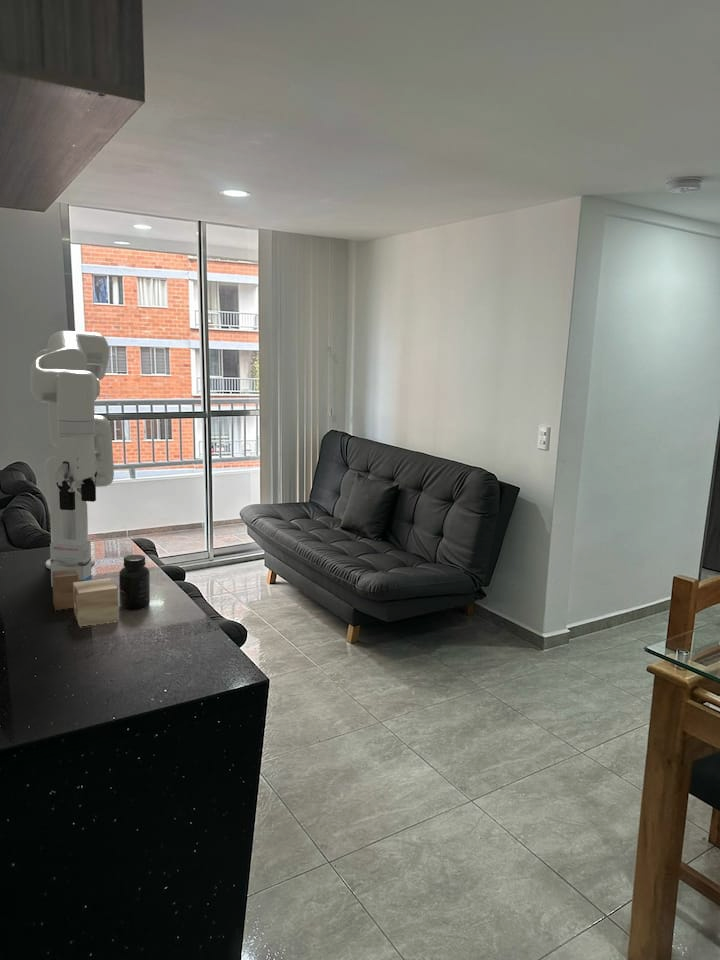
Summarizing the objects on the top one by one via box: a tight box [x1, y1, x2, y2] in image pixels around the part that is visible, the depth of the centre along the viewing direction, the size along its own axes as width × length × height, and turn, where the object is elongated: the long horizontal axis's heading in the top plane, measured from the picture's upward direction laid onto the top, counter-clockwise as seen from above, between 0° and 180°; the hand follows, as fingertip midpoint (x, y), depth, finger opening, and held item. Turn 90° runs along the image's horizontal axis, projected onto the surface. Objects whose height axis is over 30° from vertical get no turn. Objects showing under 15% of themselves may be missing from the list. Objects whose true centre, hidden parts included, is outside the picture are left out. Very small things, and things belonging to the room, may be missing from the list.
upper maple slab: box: [73, 577, 119, 611], centre depth 146 cm, size 8×8×4 cm
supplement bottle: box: [118, 554, 151, 611], centre depth 154 cm, size 7×7×12 cm
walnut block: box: [52, 569, 78, 611], centre depth 153 cm, size 5×5×8 cm
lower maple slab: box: [73, 602, 119, 628], centre depth 146 cm, size 8×8×4 cm
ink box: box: [49, 539, 93, 588], centre depth 166 cm, size 8×5×12 cm, turn 84°
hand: (78, 505), depth 145 cm, fingers open, 9 cm apart
